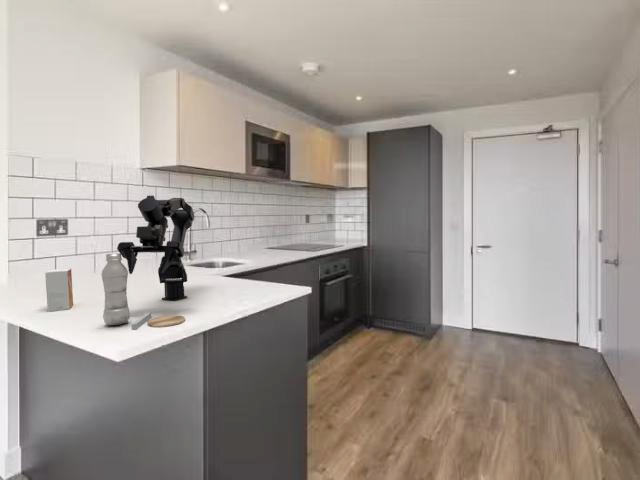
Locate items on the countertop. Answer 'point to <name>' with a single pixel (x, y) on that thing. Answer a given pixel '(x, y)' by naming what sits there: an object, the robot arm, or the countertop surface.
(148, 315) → the sill
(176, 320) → the coaster
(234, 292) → the countertop surface
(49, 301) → the small box
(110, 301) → the plastic bottle
